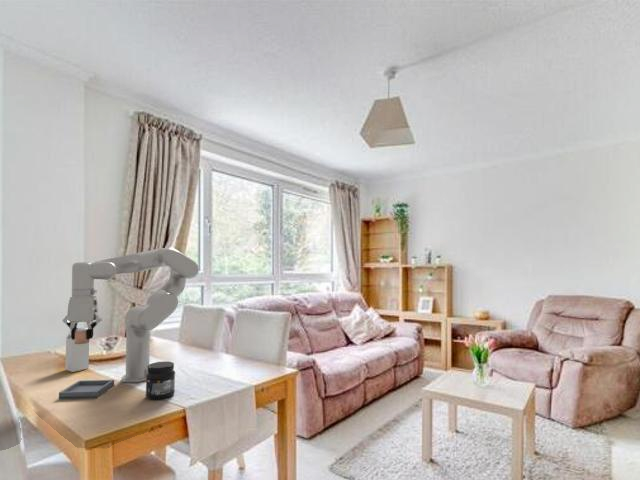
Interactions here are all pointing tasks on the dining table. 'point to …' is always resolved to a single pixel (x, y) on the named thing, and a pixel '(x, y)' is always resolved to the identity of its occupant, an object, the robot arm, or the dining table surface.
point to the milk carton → (76, 355)
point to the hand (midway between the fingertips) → (82, 338)
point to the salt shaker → (81, 336)
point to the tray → (86, 389)
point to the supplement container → (160, 380)
